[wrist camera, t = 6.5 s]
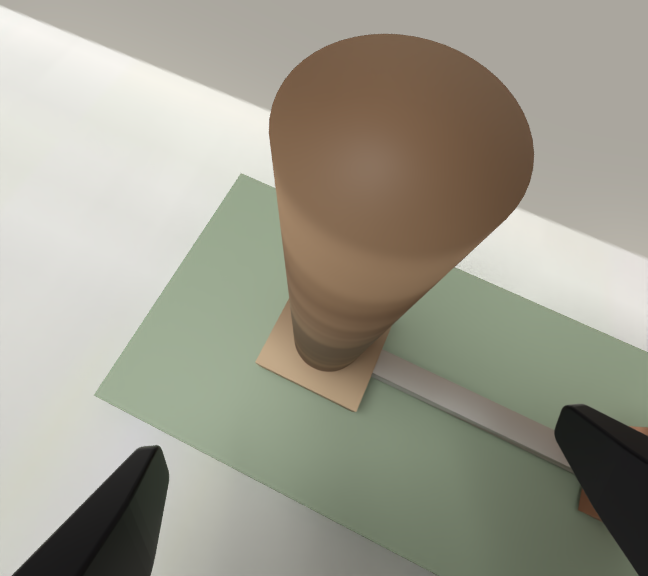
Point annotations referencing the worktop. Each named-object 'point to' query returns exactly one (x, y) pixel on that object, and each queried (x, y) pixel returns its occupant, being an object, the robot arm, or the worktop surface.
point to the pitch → (384, 407)
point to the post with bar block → (390, 214)
